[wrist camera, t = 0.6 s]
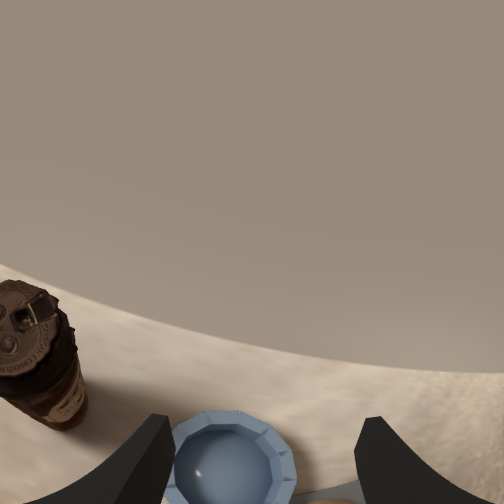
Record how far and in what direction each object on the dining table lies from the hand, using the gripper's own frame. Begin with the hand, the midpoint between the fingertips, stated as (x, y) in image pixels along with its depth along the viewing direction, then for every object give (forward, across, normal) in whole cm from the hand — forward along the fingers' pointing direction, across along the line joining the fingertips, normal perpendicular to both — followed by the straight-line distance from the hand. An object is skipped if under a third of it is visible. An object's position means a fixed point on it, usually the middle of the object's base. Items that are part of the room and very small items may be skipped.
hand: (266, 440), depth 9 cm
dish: (+8, +3, +15) cm, 17 cm away
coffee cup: (+9, +19, +10) cm, 23 cm away
